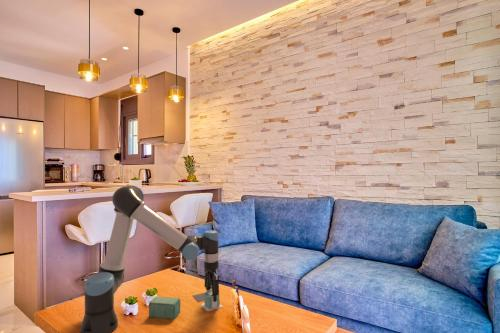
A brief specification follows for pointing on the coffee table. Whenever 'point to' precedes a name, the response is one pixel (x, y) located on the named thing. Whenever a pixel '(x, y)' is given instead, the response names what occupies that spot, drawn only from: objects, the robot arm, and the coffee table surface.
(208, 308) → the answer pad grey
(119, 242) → the robot arm
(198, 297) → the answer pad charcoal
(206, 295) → the letter cube
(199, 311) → the coffee table surface
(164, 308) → the box
